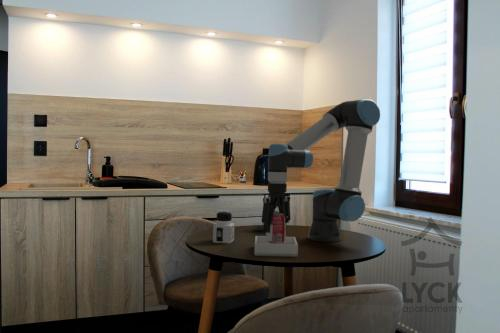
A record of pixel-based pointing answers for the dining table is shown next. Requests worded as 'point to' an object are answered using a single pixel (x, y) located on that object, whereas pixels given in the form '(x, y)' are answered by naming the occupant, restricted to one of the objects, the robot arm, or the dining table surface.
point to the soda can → (278, 228)
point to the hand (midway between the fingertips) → (275, 239)
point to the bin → (276, 247)
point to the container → (223, 228)
